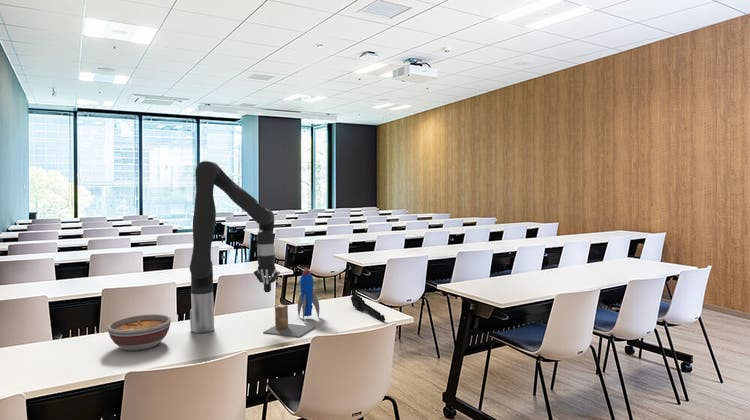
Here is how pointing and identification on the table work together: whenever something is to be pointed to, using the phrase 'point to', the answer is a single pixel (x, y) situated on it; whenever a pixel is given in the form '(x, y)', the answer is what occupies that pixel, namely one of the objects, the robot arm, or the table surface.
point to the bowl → (139, 331)
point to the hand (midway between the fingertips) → (267, 292)
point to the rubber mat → (291, 330)
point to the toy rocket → (307, 295)
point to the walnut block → (281, 317)
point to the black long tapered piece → (365, 307)
